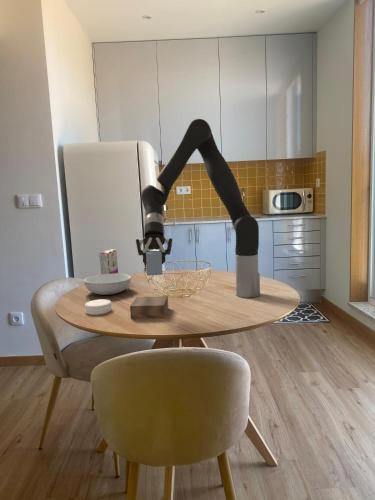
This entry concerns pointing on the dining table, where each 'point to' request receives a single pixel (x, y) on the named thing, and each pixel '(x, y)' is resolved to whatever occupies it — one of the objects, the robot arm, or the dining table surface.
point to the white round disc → (98, 307)
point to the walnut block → (149, 307)
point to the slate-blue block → (154, 262)
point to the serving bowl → (107, 283)
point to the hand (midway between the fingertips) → (154, 262)
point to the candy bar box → (108, 262)
